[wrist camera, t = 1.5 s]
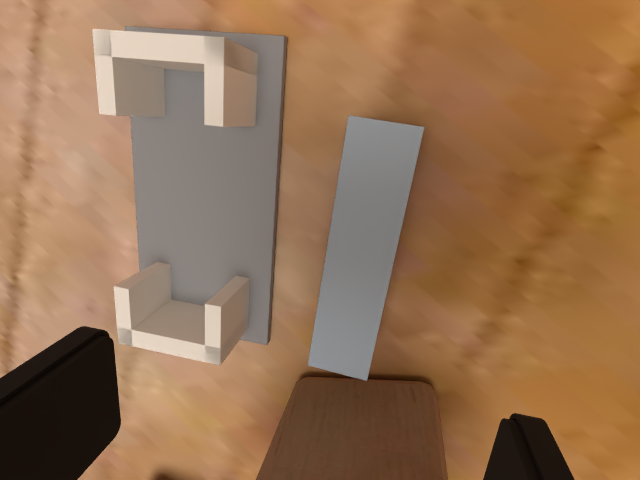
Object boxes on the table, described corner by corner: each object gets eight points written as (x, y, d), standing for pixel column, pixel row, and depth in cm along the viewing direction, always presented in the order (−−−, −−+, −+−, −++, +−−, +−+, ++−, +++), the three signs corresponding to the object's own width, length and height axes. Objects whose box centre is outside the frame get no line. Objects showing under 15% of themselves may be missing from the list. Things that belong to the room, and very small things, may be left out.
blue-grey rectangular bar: (360, 117, 22) (348, 115, 18) (419, 126, 22) (424, 127, 17) (324, 323, 27) (307, 365, 22) (373, 335, 26) (366, 380, 22)
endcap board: (287, 38, 22) (255, 14, 17) (269, 340, 28) (242, 384, 23) (131, 28, 23) (63, 4, 19) (147, 315, 30) (99, 351, 25)
